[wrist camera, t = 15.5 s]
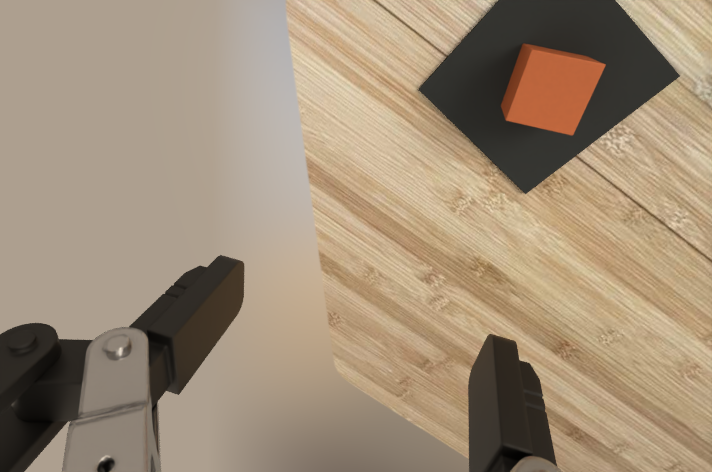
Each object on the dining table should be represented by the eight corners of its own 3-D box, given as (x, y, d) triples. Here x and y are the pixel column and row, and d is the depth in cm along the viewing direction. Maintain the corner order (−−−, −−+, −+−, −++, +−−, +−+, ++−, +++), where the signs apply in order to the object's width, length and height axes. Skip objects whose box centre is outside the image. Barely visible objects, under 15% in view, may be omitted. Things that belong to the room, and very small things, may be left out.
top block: (500, 106, 34) (505, 120, 30) (522, 43, 32) (531, 49, 27) (559, 119, 34) (573, 135, 30) (587, 56, 31) (606, 64, 27)
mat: (419, 88, 36) (418, 89, 35) (557, -65, 28) (558, -66, 28) (525, 192, 38) (525, 194, 38) (678, 75, 31) (680, 76, 30)
